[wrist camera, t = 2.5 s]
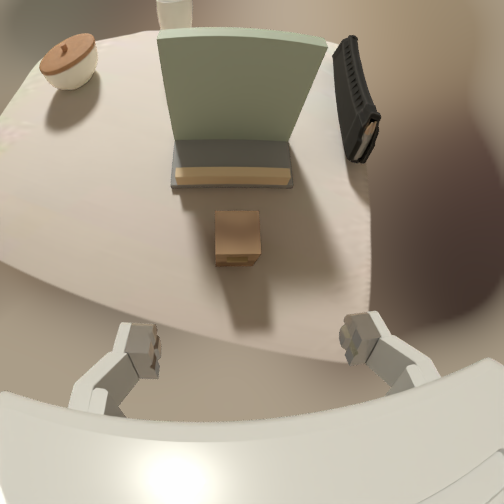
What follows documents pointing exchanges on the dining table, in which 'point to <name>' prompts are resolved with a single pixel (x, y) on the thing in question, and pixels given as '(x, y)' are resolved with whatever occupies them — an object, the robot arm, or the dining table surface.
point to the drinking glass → (174, 13)
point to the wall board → (235, 102)
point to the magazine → (354, 102)
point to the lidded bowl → (70, 62)
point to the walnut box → (237, 238)
